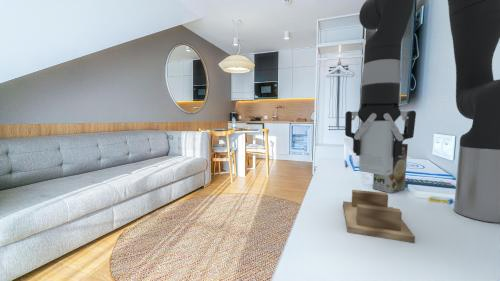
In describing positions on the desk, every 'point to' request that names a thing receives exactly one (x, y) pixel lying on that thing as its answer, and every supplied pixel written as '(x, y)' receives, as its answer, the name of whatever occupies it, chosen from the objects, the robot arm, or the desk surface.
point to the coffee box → (393, 175)
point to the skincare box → (377, 148)
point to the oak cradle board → (374, 231)
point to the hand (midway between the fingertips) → (375, 156)
